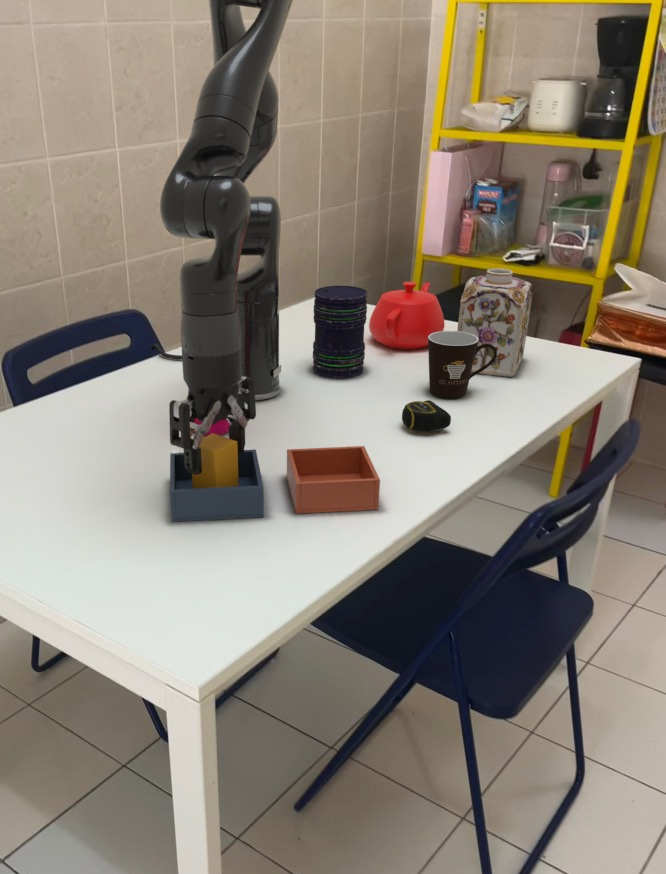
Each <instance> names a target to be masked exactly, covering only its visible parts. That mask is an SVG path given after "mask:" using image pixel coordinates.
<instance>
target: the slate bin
mask: <svg viewBox="0 0 666 874" xmlns="http://www.w3.org/2000/svg"><path fill="white" fill-rule="evenodd" d="M169 456H170V457H169V498H170V512H171V514H170V515H171V522H172V523H175V522H176V523H178V522H195V521H196V522H198V521H216V520H218V521H219V520H237V519H238V520H239V519H255V518H256V519H257V518H264V517H265V515H264V514H265V510H264V507H265V506H264V505H265V504H264V503H265V501H264V500H265V499H264V498H265V497H264V484H263V483H264V482H263V478H262V474H261V468H260V463H259V458H258V453H257V449H244V452H243V453H241V454H238V486H237V487H216V488H195V489H193V483H192V473H190V472H188V471H187V470H186V468H185V465H184V463H185V462H184V452H171V453H169Z"/></svg>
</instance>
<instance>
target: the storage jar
mask: <svg viewBox="0 0 666 874" xmlns="http://www.w3.org/2000/svg"><path fill="white" fill-rule="evenodd" d="M367 298H368V291H367V290H366V289H364V288H362V287H358V286H353V285H328V286H322V287H319V288H317V289H315V290H314V300H313V301H314V303H313V317H312V318H313V323H314V340H313V343H312V364H313V367H312V373H314V374H315V375H316V376H318V377H320V378H325V379H331V380H347V379H354V378H357V377H360V376H362V375H363V374H364V363H365V359H366V357H365V356H366V352H365V350H366V343H365V341H364V340H365V324H366V322H367V320H368V318H367V313H368V304H367V303H368V300H367Z"/></svg>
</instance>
